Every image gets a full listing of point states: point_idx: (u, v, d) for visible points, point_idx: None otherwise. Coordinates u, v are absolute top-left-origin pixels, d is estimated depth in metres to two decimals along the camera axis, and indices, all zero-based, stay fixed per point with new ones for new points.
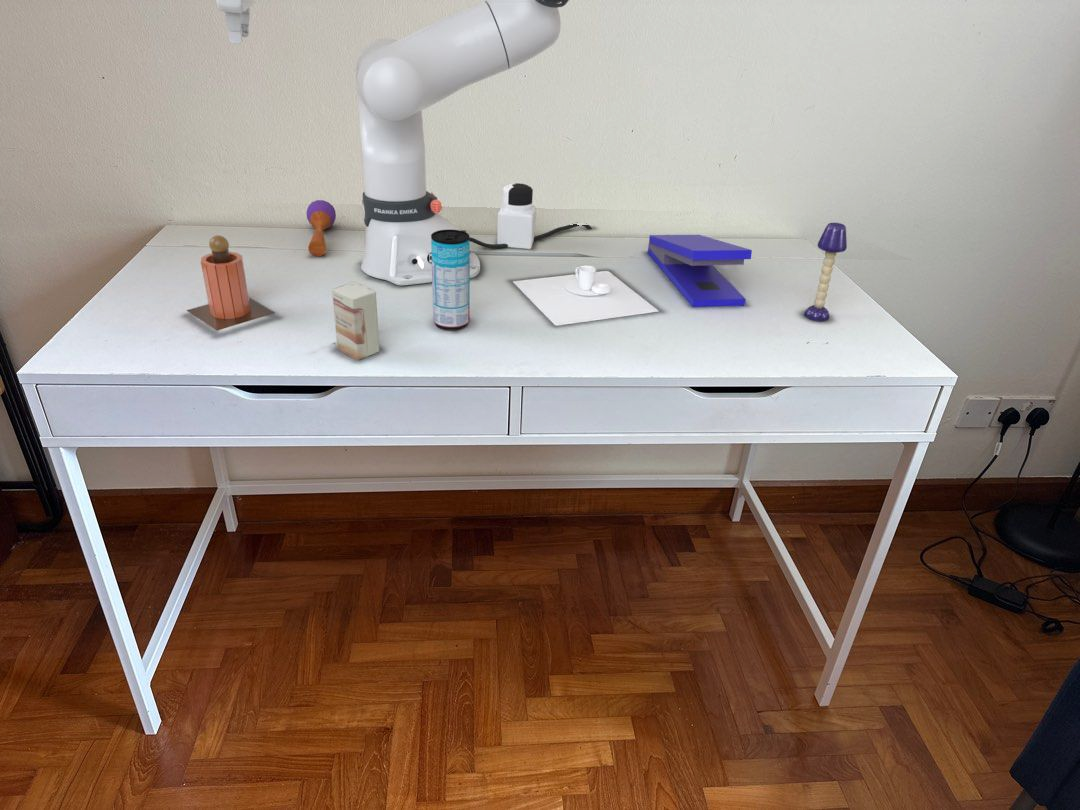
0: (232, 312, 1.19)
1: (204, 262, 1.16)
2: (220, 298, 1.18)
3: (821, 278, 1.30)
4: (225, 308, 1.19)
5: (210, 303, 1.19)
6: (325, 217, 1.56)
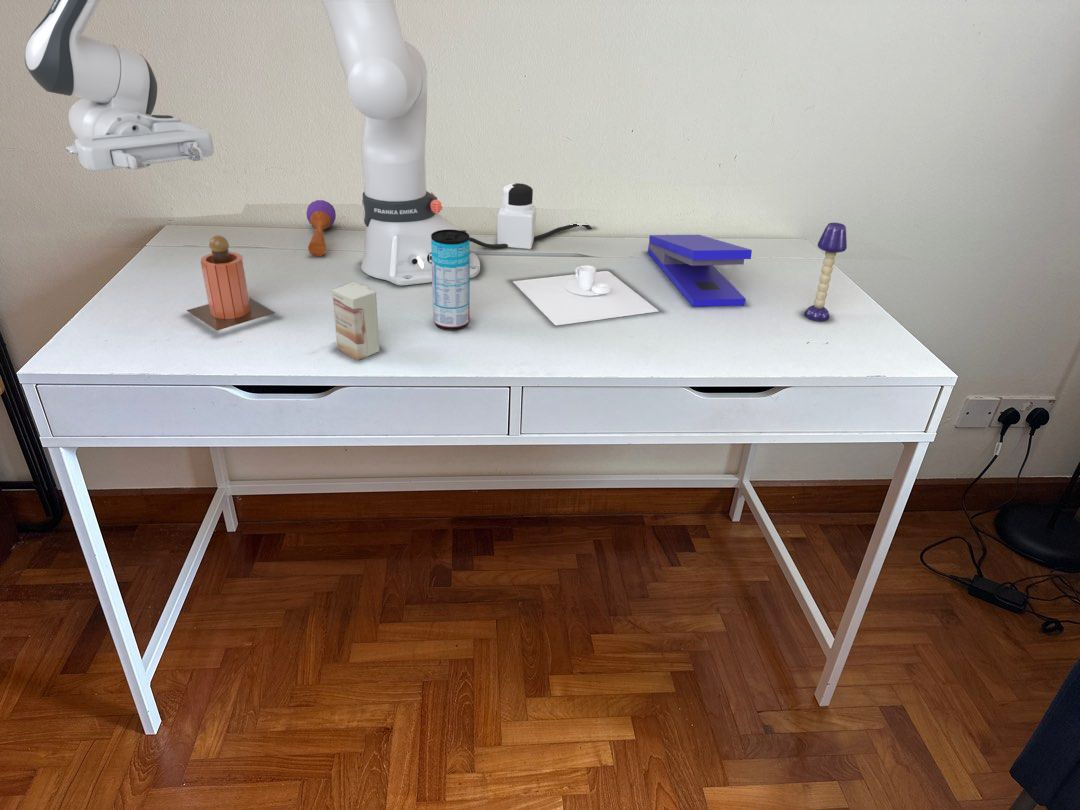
0: (232, 312, 1.19)
1: (204, 262, 1.16)
2: (220, 298, 1.18)
3: (821, 278, 1.30)
4: (225, 308, 1.19)
5: (210, 303, 1.19)
6: (325, 217, 1.56)
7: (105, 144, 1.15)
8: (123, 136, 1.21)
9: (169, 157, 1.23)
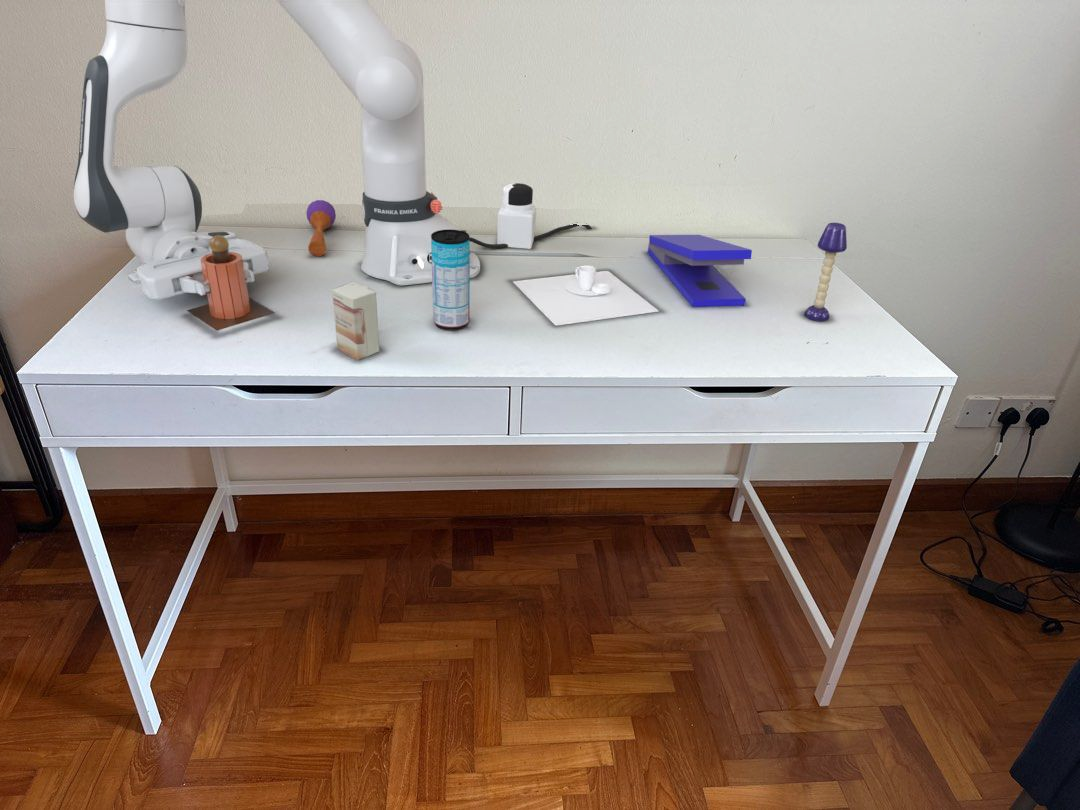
0: (232, 312, 1.19)
1: (204, 262, 1.16)
2: (220, 298, 1.18)
3: (821, 278, 1.30)
4: (225, 308, 1.19)
5: (210, 303, 1.19)
6: (325, 217, 1.56)
7: (167, 273, 1.17)
8: (182, 259, 1.22)
9: None
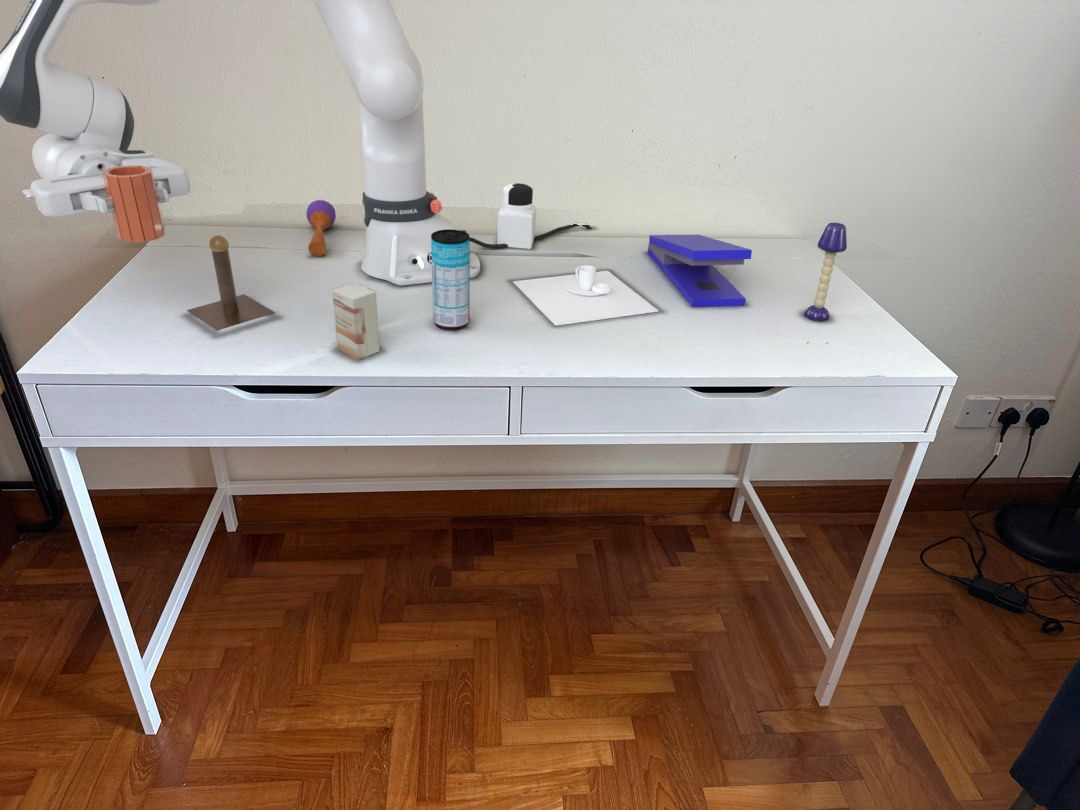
0: (141, 234, 1.05)
1: (106, 174, 1.01)
2: (126, 217, 1.03)
3: (821, 278, 1.30)
4: (132, 229, 1.04)
5: (115, 223, 1.04)
6: (325, 217, 1.56)
7: (64, 187, 1.02)
8: (87, 176, 1.08)
9: None
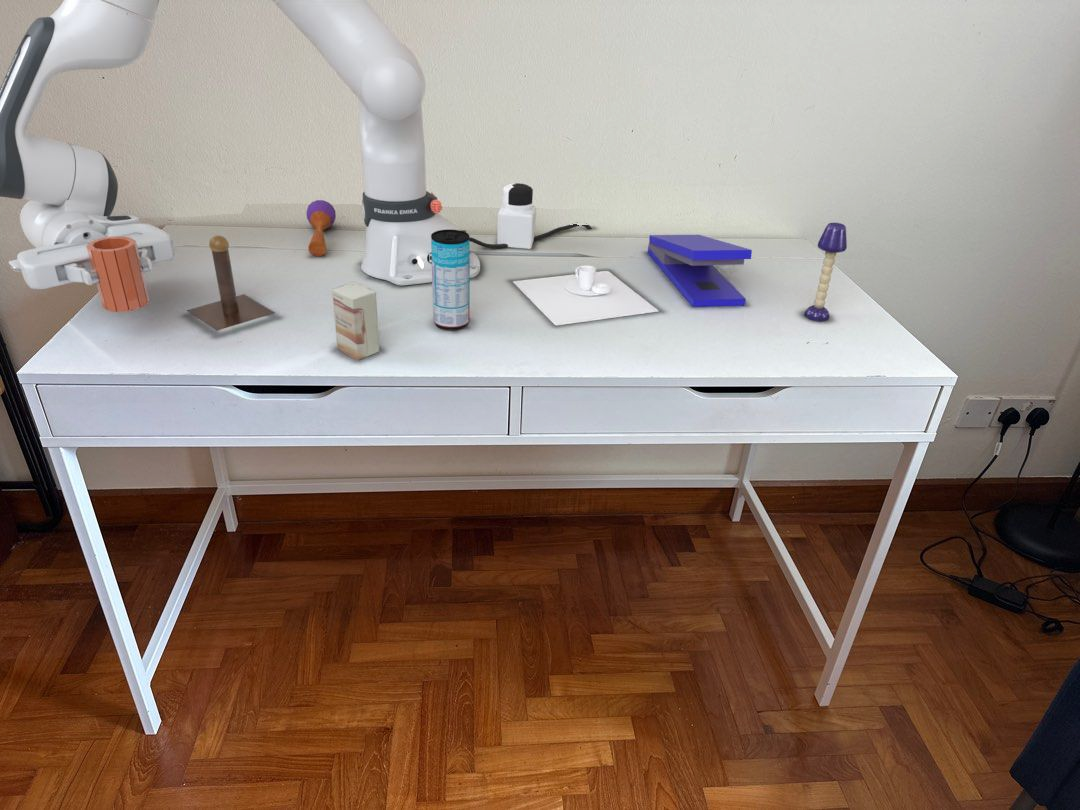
0: (125, 304, 1.07)
1: (90, 247, 1.03)
2: (110, 288, 1.05)
3: (821, 278, 1.30)
4: (116, 299, 1.06)
5: (100, 294, 1.06)
6: (325, 217, 1.56)
7: (50, 259, 1.04)
8: (73, 245, 1.10)
9: None
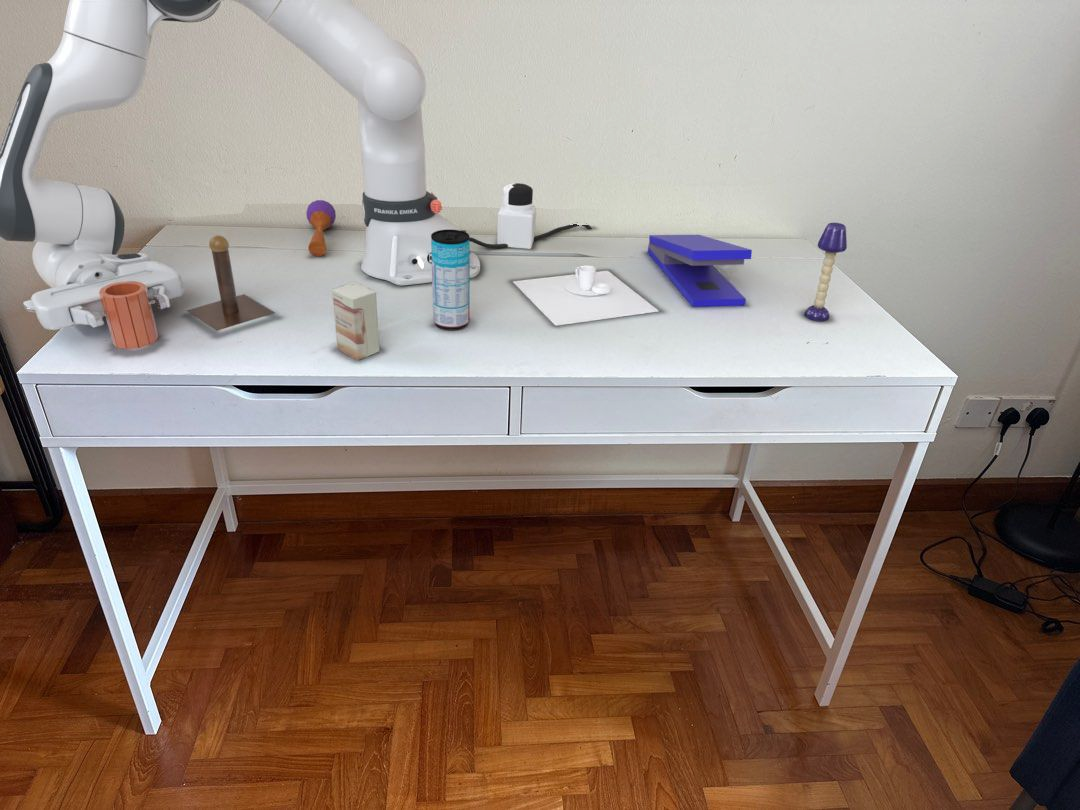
0: (136, 347, 1.10)
1: (102, 294, 1.07)
2: (122, 332, 1.09)
3: (821, 278, 1.30)
4: (128, 343, 1.09)
5: (112, 337, 1.10)
6: (325, 217, 1.56)
7: (63, 301, 1.08)
8: (85, 285, 1.13)
9: None
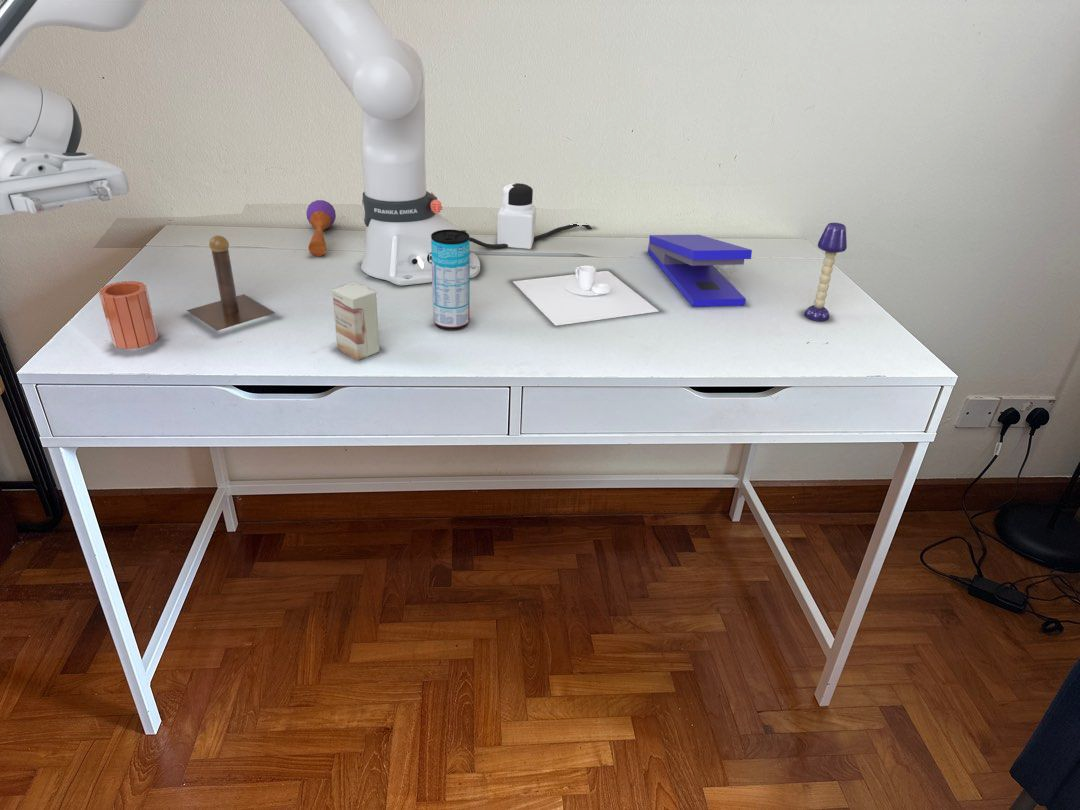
0: (136, 347, 1.10)
1: (102, 294, 1.07)
2: (122, 332, 1.09)
3: (821, 278, 1.30)
4: (128, 343, 1.09)
5: (112, 337, 1.10)
6: (325, 217, 1.56)
7: (3, 188, 1.08)
8: (28, 177, 1.13)
9: (78, 198, 1.15)
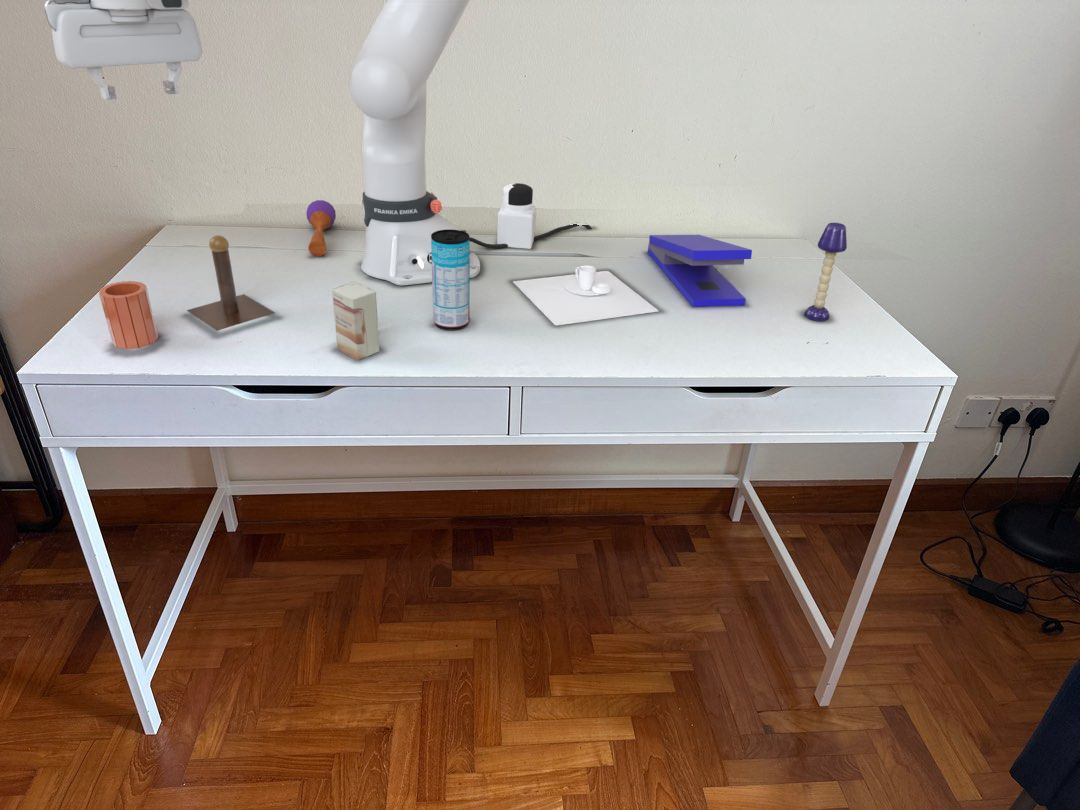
0: (136, 347, 1.10)
1: (102, 294, 1.07)
2: (122, 332, 1.09)
3: (821, 278, 1.30)
4: (128, 343, 1.09)
5: (112, 337, 1.10)
6: (325, 217, 1.56)
7: (90, 60, 1.08)
8: (114, 25, 1.09)
9: None
